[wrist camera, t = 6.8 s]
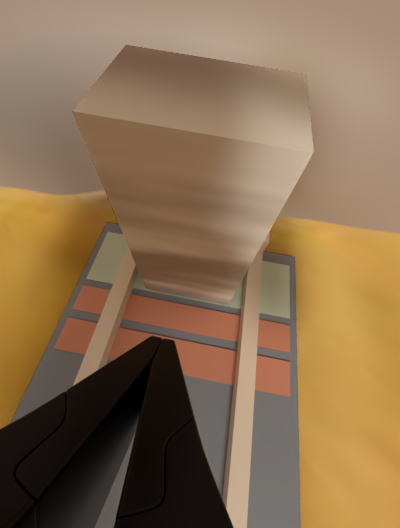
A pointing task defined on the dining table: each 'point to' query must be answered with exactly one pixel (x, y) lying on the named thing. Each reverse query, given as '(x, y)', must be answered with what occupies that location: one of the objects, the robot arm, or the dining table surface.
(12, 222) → the dining table surface
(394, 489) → the dining table surface
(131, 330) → the track
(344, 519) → the dining table surface
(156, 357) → the robot arm
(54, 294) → the dining table surface
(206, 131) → the cream block
